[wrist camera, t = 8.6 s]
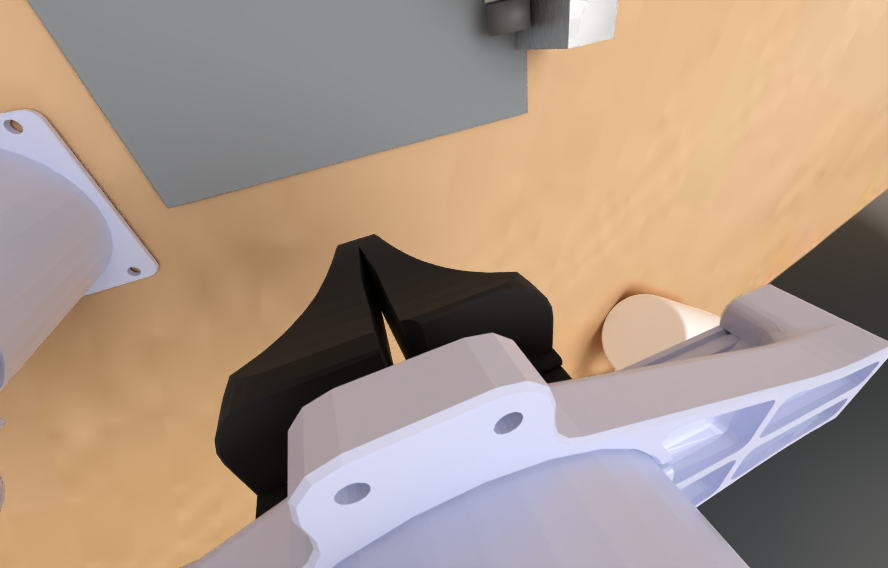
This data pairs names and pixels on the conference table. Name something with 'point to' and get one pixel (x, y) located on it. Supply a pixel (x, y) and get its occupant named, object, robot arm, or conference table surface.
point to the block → (508, 16)
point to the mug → (650, 327)
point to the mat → (282, 81)
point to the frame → (567, 24)
